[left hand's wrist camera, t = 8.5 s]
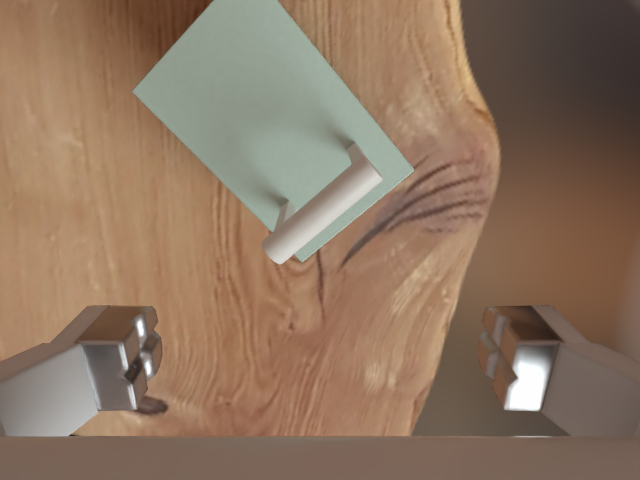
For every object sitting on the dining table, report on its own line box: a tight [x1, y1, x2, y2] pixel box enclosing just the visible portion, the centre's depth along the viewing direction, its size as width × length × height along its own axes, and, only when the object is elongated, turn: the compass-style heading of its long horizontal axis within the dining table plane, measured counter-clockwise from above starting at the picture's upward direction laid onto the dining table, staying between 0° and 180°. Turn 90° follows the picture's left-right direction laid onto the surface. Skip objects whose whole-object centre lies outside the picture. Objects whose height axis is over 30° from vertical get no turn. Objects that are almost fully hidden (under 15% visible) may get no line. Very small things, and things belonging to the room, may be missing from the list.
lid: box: [132, 0, 414, 264], centre depth 21 cm, size 14×9×8 cm, turn 42°
